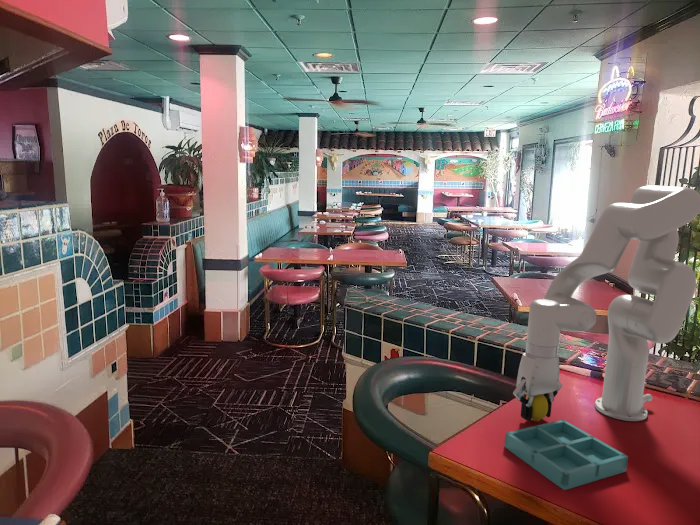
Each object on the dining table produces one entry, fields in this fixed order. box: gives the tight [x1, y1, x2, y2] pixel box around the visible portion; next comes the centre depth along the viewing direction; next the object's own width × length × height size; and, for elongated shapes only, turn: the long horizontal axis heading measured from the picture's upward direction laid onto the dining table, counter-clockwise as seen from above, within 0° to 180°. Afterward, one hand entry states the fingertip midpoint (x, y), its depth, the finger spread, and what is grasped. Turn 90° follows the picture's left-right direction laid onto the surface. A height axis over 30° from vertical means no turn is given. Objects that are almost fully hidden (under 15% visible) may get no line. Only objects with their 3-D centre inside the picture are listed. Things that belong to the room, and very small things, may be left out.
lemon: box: [526, 394, 548, 422], centre depth 133 cm, size 6×6×8 cm
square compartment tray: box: [504, 419, 629, 491], centre depth 116 cm, size 18×18×4 cm
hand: (535, 416), depth 133 cm, fingers closed on lemon, 5 cm apart
